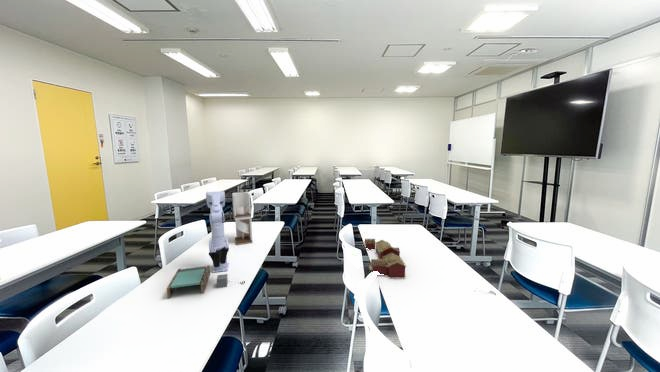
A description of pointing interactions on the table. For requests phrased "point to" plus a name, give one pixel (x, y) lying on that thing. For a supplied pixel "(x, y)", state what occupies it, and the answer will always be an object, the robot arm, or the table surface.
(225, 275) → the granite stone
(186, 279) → the trapdoor
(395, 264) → the toy houses
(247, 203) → the display case
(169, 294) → the frame
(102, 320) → the table surface
